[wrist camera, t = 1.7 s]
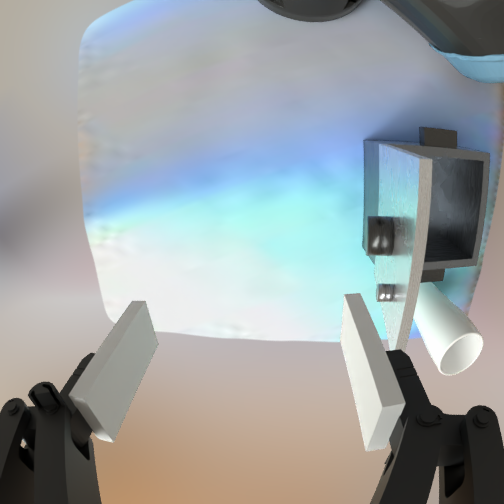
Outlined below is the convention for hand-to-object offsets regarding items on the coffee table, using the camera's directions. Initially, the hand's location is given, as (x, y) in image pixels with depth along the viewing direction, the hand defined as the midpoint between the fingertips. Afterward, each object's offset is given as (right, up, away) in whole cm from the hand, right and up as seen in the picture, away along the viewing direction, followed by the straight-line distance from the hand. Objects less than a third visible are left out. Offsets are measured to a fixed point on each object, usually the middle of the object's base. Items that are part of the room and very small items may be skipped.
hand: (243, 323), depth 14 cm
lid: (+12, +5, +9) cm, 16 cm away
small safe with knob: (+22, +11, +22) cm, 32 cm away
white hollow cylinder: (+26, -3, +27) cm, 38 cm away
